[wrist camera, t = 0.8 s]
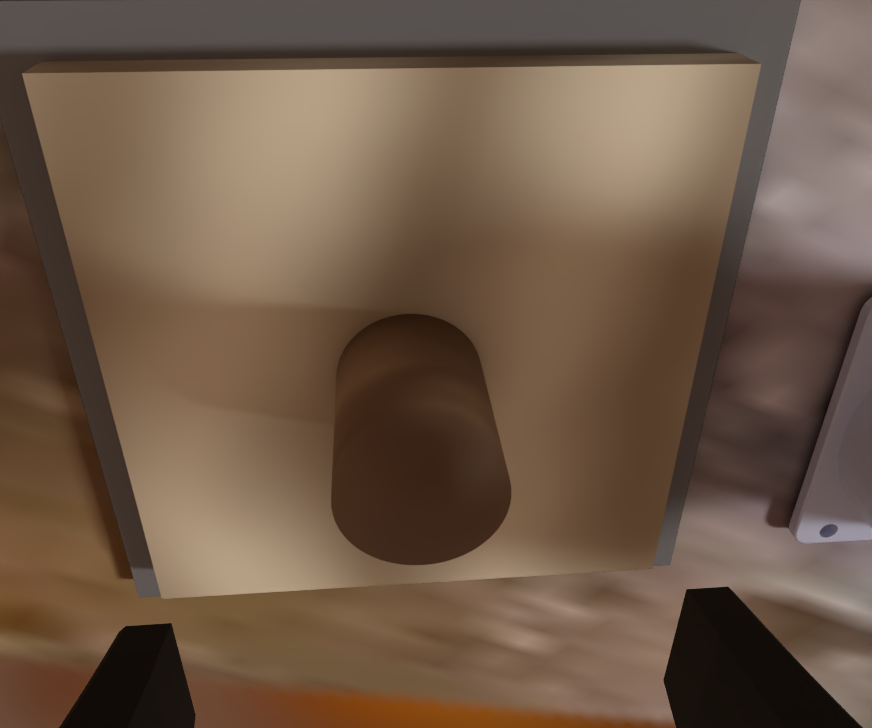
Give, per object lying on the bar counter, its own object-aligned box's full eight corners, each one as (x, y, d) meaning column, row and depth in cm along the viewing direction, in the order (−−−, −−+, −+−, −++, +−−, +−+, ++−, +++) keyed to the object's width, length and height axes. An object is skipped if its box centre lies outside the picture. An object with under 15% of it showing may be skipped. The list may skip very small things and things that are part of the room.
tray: (787, -9, 15) (802, -5, 15) (663, 549, 23) (669, 564, 23) (-20, -4, 14) (-34, 1, 13) (143, 580, 22) (138, 597, 21)
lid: (738, 53, 15) (887, 123, 11) (641, 541, 22) (708, 700, 18) (42, 61, 14) (-93, 141, 10) (169, 569, 21) (122, 744, 17)
